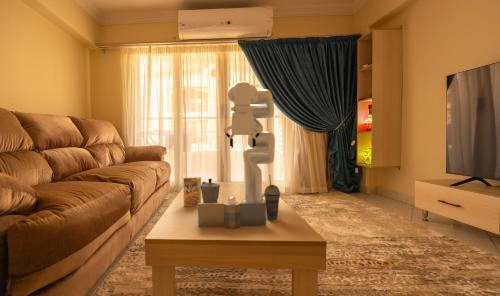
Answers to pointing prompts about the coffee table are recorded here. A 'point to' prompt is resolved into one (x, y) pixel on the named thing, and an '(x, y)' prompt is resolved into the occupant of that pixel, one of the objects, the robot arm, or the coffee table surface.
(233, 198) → the steel pin
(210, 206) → the hinge
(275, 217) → the beverage cup
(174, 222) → the coffee table surface
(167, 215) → the coffee table surface
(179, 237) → the coffee table surface
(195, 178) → the candy box
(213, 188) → the coffeepot
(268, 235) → the coffee table surface
